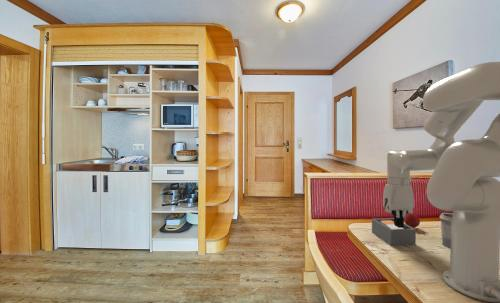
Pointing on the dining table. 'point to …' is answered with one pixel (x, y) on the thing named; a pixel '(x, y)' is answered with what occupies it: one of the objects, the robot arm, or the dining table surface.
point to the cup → (446, 228)
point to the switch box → (394, 233)
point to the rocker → (390, 224)
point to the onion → (412, 220)
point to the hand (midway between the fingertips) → (398, 226)
